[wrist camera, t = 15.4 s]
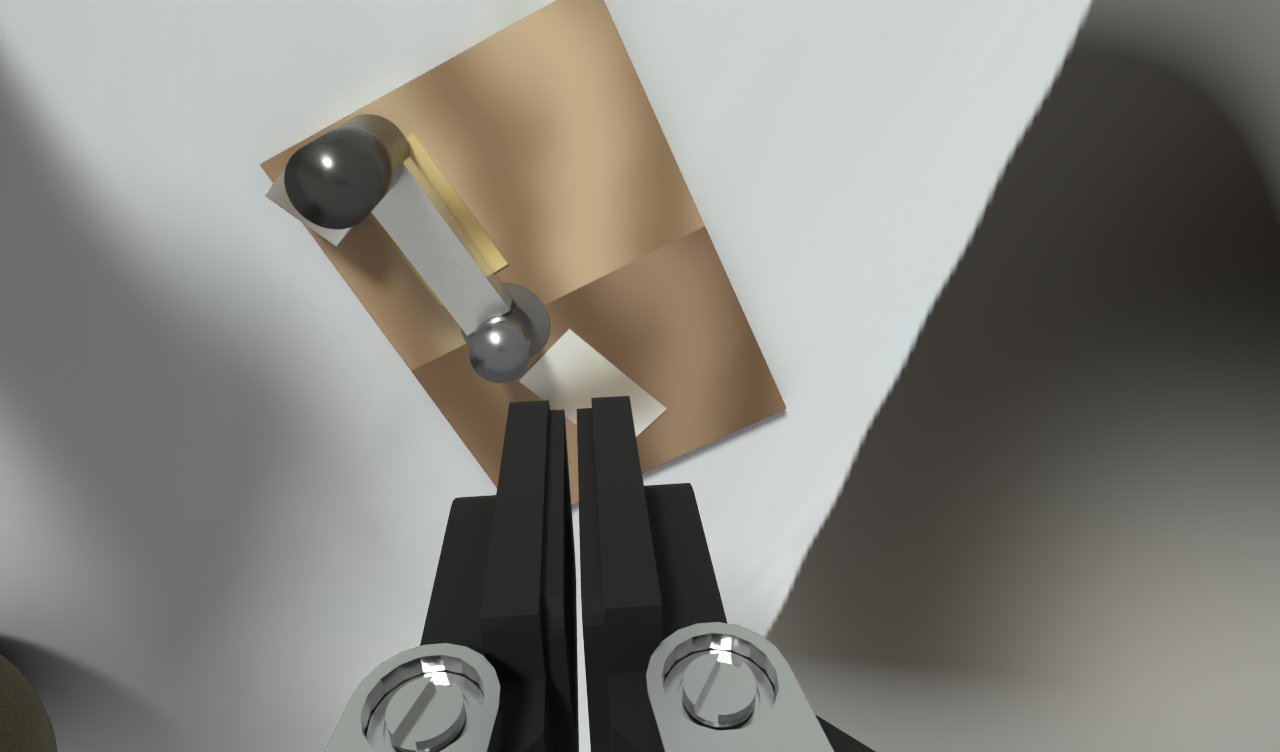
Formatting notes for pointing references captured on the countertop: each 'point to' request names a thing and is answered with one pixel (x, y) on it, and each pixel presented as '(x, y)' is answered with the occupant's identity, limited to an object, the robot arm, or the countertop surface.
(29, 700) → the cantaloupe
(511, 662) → the robot arm
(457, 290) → the swing bar
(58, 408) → the countertop surface
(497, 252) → the plate
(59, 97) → the countertop surface
